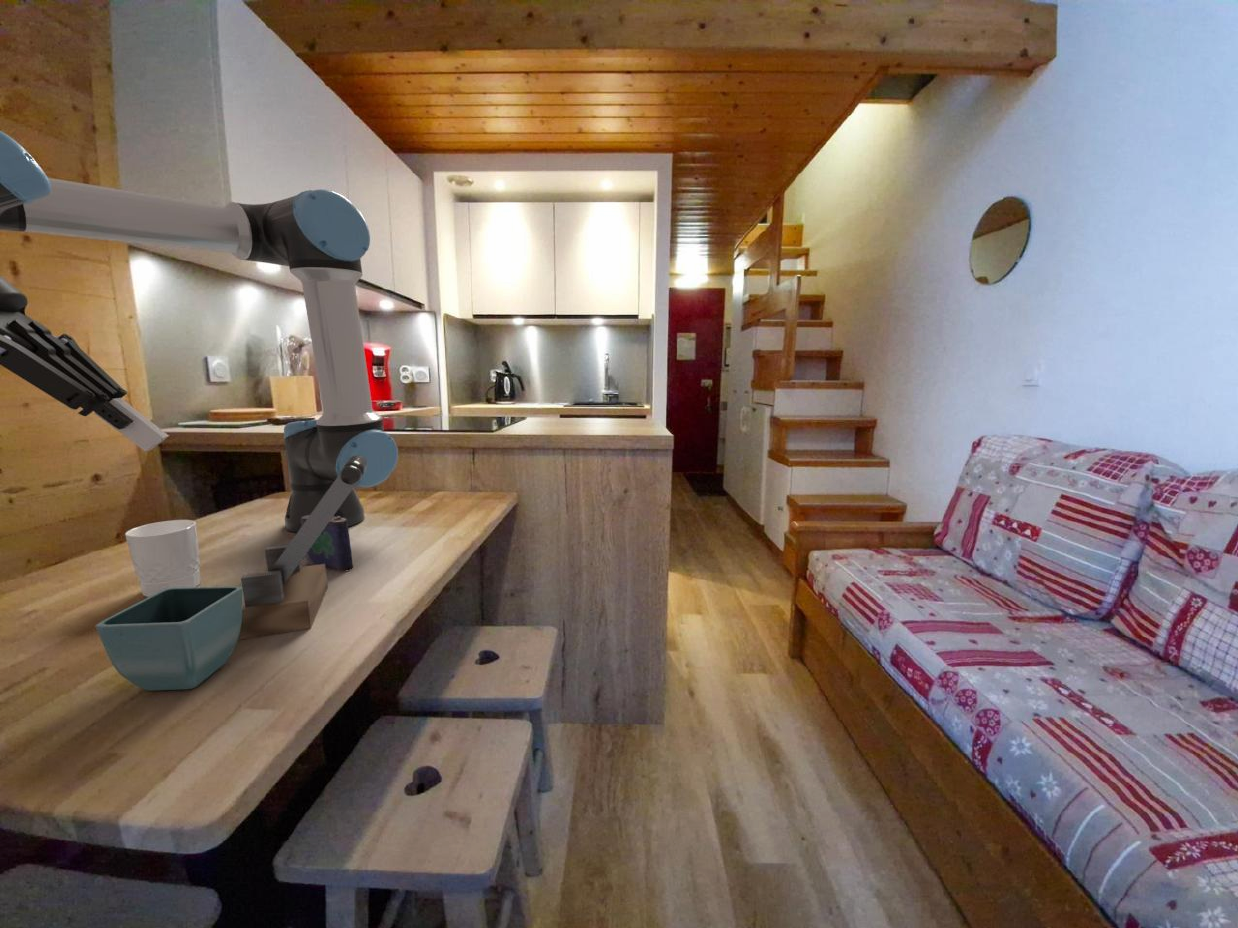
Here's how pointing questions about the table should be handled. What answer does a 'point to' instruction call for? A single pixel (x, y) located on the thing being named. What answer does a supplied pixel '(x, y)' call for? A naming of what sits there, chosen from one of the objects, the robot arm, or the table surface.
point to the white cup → (165, 555)
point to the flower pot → (174, 636)
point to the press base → (280, 598)
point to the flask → (331, 546)
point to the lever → (320, 516)
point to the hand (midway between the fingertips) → (157, 443)
